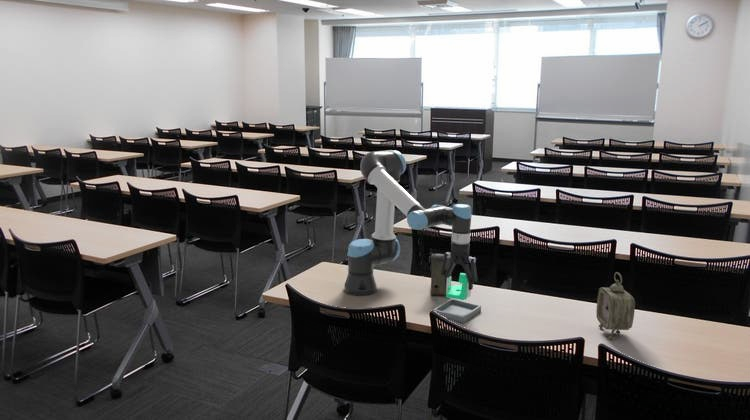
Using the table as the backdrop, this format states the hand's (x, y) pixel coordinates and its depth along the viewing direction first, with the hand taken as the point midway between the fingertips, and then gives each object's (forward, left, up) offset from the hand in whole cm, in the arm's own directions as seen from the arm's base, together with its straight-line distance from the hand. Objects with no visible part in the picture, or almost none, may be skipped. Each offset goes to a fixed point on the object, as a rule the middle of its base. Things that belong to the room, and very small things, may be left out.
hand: (458, 294), depth 236 cm
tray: (0, 0, -8) cm, 8 cm away
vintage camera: (-19, +19, -9) cm, 28 cm away
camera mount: (0, 0, -1) cm, 1 cm away
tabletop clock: (+58, +19, -9) cm, 61 cm away
